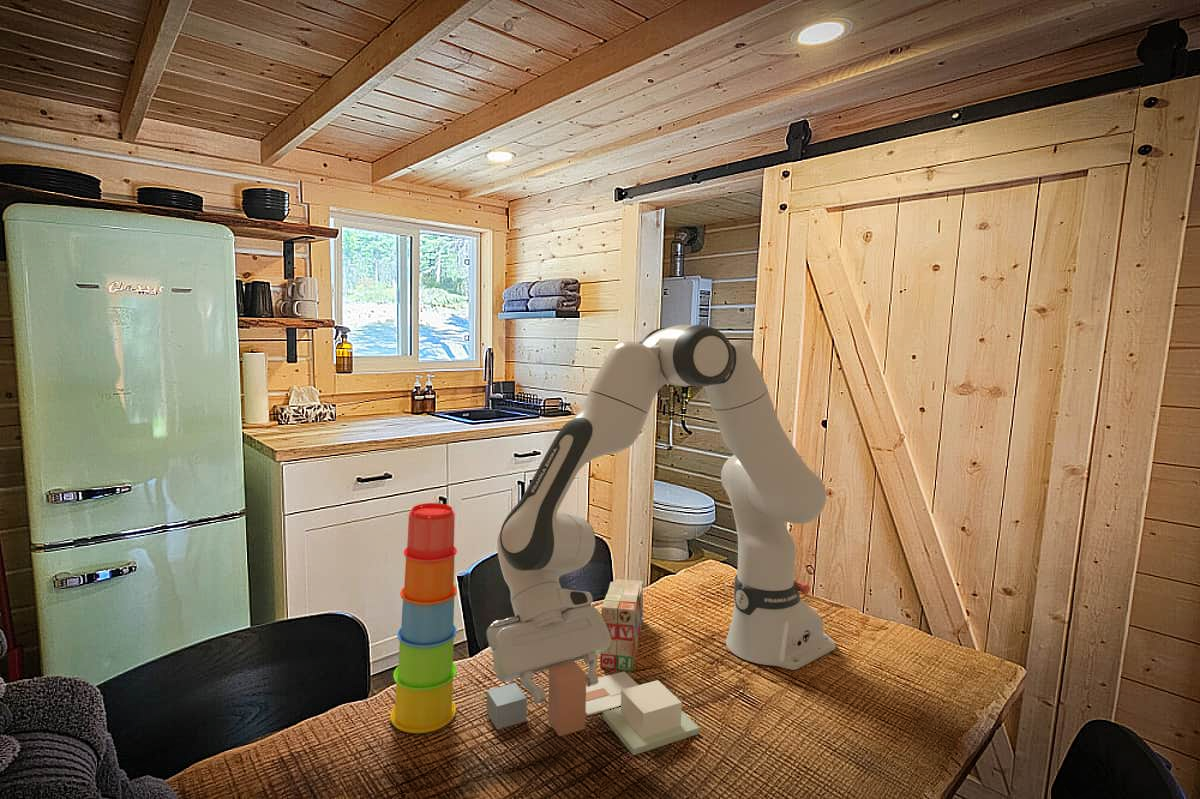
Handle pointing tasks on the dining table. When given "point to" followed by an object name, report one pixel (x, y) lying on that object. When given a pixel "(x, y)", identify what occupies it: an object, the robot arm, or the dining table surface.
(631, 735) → the tower base
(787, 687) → the dining table surface
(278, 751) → the dining table surface
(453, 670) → the stacking cups
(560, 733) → the terracotta brick
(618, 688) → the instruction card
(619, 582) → the stack of blocks
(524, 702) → the slate brick
